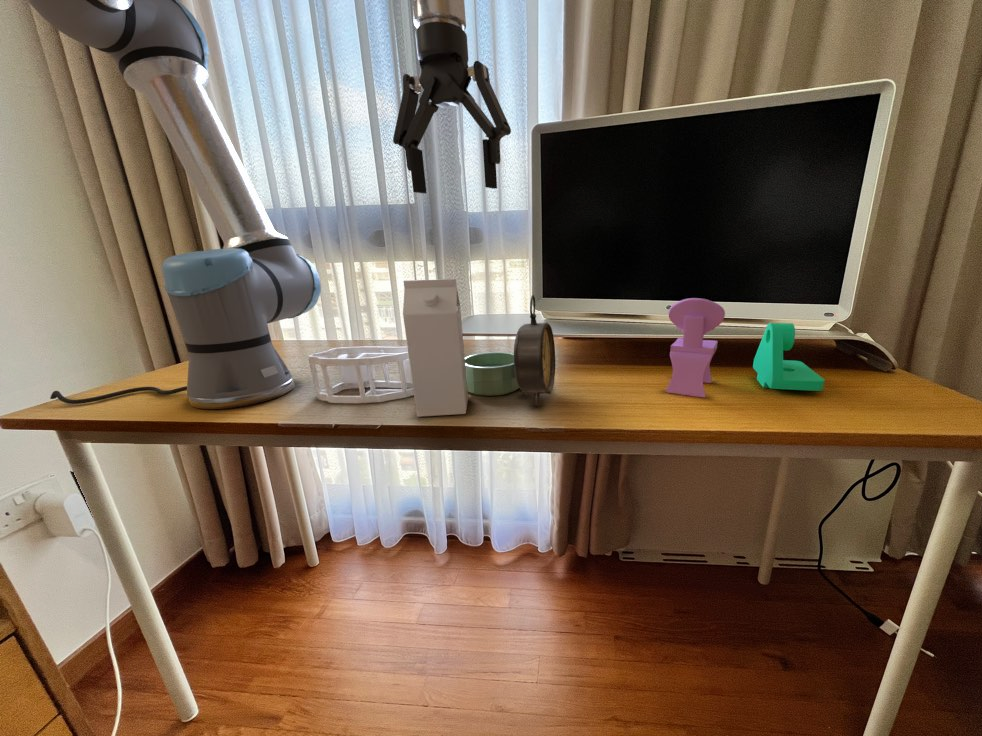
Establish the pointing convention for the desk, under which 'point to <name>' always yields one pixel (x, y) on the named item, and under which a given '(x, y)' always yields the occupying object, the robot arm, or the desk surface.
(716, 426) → the desk surface
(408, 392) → the white wireframe cage
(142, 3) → the robot arm
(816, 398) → the desk surface
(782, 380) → the camera mount
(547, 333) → the alarm clock
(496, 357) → the bowl
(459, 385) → the milk carton
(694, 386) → the toy chair
